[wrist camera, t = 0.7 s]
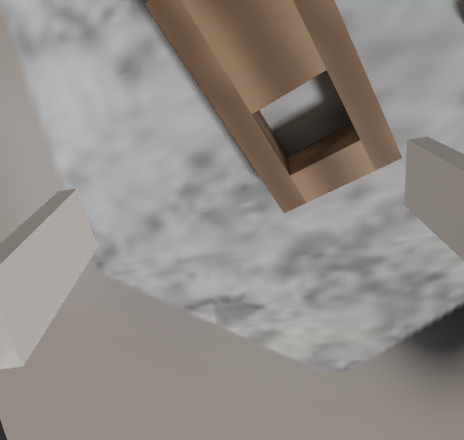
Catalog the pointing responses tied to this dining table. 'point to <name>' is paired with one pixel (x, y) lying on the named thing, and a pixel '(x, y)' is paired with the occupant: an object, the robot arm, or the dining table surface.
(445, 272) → the dining table surface
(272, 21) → the block
